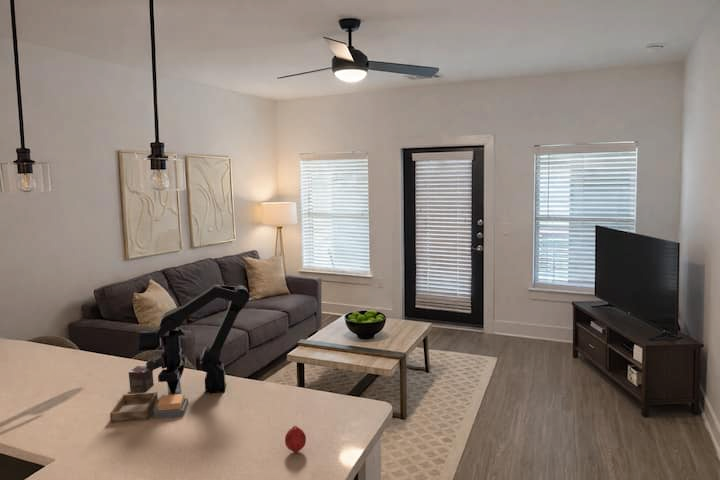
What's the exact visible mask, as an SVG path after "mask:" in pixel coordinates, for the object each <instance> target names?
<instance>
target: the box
mask: <svg viewBox="0 0 720 480" xmlns="http://www.w3.org/2000/svg"><path fill="white" fill-rule="evenodd" d="M146 367H147V366H146V365H145V366H143V365H142V366H140V365H139V366H138V365H137V366H135V367H134V368H133V369H132V370H130V371H128V380H129V381H128V382H129V388H130V389H129V391H130V392H144V393H147V391H148V390H149V389H151V388H152V387H153V386H154V375H153V374H154V373H153V372H154V370H153V371H151V372H150V371H149V369H146Z"/></svg>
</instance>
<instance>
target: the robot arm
mask: <svg viewBox="0 0 720 480" xmlns="http://www.w3.org/2000/svg"><path fill="white" fill-rule="evenodd" d="M216 299H223V300H226V301H229V303H228V307H227V310H226V312H225V314H224V316H223V318H222V320H221V323H220V324H219V327H218V329H217V331H216V333H215V334H214V335H215V336H214V337H213V339H212V341H211V343H210V344H209V345H207V344H206V345H205V344H204V347H203V349H202V352H201V353H200V355H199V361H200V368H201V370H202V371H203V372H205V373H206V374H205V377H204V389H205V393H206V394H215V393H225V392H226V388H227V383H226V371H225V369H224V368H225V367H224V366H225V365H224V362H223V361H222V360H220V359H221V358H220V357H221V354H222V353H221V352H222V349H223V347H224V345H225V344H226V340H227V339H228V336H229V334H230V333H231V330H232V328H233V326H234V324H235V321H236V320H237V317H238V315H239V313H240V312H241V311H242V310H243V309H244V308H245V307H246V305H247V303H248V302H249V300H250V294H249V291H248V288H247V287H246V286H245V285H236V286H232V285H222V284H217V283H216V284H215V283H214V284H213V285H212V286H211V287H209V288H208V289H207V290H205V291H203V292H202V293H200V294H199V295H197V296H196V297H195V298H192V299H190V301H188V302H186V303H184V304H183V305H181V306H178V307H175V308H173V309H170V310H168V311H165V313H163V315H162V317H161V320H160V324H159V325H158V326H157V329H156V330H148V331H147V330H141V331H139V338H138V341H139V342H138V349H139V353H141V352H149V351H150V352H151V351H158V350H159V347H162V353H161V354H159V355H157V356H154V357H151V358H149V359H148V360H147V362H146V363H145V366H147V367H146V369H149V371H150V372H151V371H153V372H154V370H157V369H159V368H161V369H162V370H161V371H160V372H159V373H158V375H157V380H158V383H165V382H166V383H167V384H168V385H167V384H166V385H167V387H168V386H169V388H170V391H171V393H172V394H175V391H176V388H177V385H178V382H179V379H182V377H183V373H184V371H185V368H186V365H184V364H187V362H188V357H187V355H186V354H184V353H182V351H183V347H181V336H185V335H186V331H185V330H184V329H183V328H182V327H181V325H182V324H183V323H184V322H185V321H186V319H187V318H189V316H191V315H193V314H194V313H196V312H198V311H199V310H200V309H201V308H202V309H203V308H204V307H205V306H206V305H208V304H209V303H211V302H213V301H215V300H216ZM161 338H162V339H161ZM179 374H180V375H179Z"/></svg>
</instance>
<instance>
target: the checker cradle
mask: <svg viewBox="0 0 720 480" xmlns="http://www.w3.org/2000/svg"><path fill="white" fill-rule="evenodd" d="M188 407H189V397H185V400H184V402H183V405H182V407H181V409H173V410H160V411H158V405H157V406H156V408H155V409H154V411H153V415H154V417H153V418H154V419H162V418H163V419H164V418H174V417H184V416H185V413H186V411H187V409H188Z"/></svg>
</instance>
